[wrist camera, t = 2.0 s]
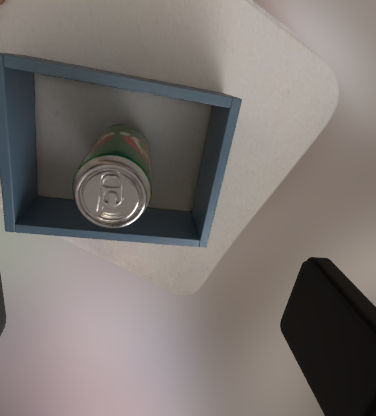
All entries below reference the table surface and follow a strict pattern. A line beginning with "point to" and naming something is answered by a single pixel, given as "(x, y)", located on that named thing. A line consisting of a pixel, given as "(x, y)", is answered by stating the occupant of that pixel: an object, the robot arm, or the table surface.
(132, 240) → the frame
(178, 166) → the table surface
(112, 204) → the soda can
